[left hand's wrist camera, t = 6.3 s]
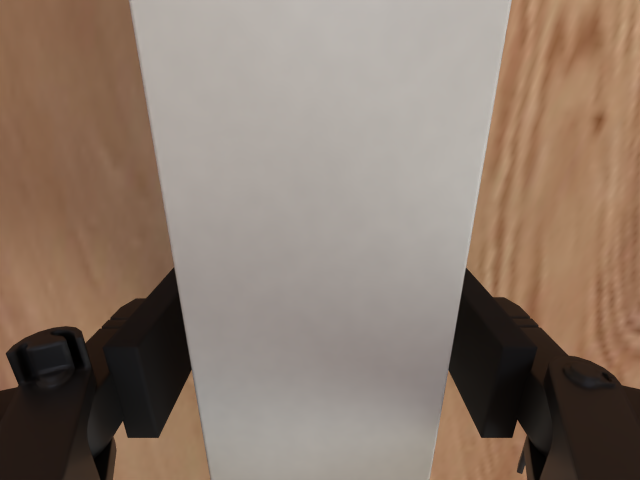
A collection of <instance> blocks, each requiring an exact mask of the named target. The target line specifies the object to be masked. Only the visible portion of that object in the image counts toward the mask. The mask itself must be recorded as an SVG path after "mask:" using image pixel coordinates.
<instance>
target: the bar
mask: <svg viewBox="0 0 640 480" xmlns="http://www.w3.org/2000/svg"><path fill="white" fill-rule="evenodd" d="M129 4H130V10H131V16H132V22H133V27H134V33H135V39H136V45H137V51H138V57H139V63H140V68H141V74H142V80H143V86H144V92H145V98H146V104H147V110H148V115H149V121H150V127H151V133H152V139H153V145H154V151H155V156H156V162H157V168H158V174H159V180H160V186H161V192H162V197H163V203H164V209H165V215H166V221H167V227H168V233H169V238H170V244H171V250H172V256H173V262H174V268H175V274H176V280H177V285H178V291H179V297H180V303H181V309H182V315H183V321H184V326H185V332H186V338H187V344H188V350H189V356H190V362H191V367H192V373H193V379H194V385H195V391H196V397H197V403H198V408H199V414H200V420H201V426H202V432H203V438H204V444H205V449H206V455H207V461H208V467H209V473H210V479H211V480H430V474H431V468H432V462H433V456H434V450H435V445H436V439H437V433H438V427H439V421H440V415H441V410H442V404H443V398H444V392H445V386H446V380H447V374H448V369H449V363H450V357H451V351H452V345H453V339H454V334H455V328H456V322H457V316H458V310H459V304H460V299H461V293H462V287H463V281H464V275H465V269H466V263H467V258H468V252H469V246H470V240H471V234H472V228H473V223H474V217H475V211H476V205H477V199H478V193H479V187H480V182H481V176H482V170H483V164H484V158H485V152H486V147H487V141H488V135H489V129H490V123H491V117H492V112H493V106H494V100H495V94H496V88H497V82H498V76H499V71H500V65H501V59H502V53H503V47H504V41H505V36H506V30H507V24H508V18H509V12H510V6H511V0H129Z"/></svg>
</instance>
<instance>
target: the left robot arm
mask: <svg viewBox="0 0 640 480" xmlns="http://www.w3.org/2000/svg"><path fill="white" fill-rule="evenodd" d="M6 355H7V358H8V360H9V363H10V365H11V367H12V370H13V372H14V375H15V377H16V380H17V382H18V384H19V386H18V387H16V388H12V389H7V390H2V391H0V480H113V474H114V466H115V458H116V444H115V440H114V437H113V436H114V434H115V433H116V431H117V429H118V428H119V426H120V425H121V423H122V421H123V423H124V426H125V430H126V433H127V437H128V438H159V436H160V434H161V432H162V430H163V427H164V425H165V423H166V421H167V419H168V417H169V415H170V413H171V411H172V409H173V407H174V405H175V403H176V401H177V399H178V397H179V394H180V392H181V390H182V388H183V386H184V384H185V382H186V380H187V378H188V376H189V374H190V372H191V370H192V367H191V362H190V356H189V350H188V344H187V338H186V332H185V326H184V321H183V315H182V309H181V303H180V297H179V291H178V285H177V280H176V274H175V268H173V269H172V270H171V271H170V273H169V274H168V275H167V276H166V277H165V278H164V279H163V280H162V281H161V283H160V284H159V285H158V286H157V287H156V288H155V289H154V290H153V291H152V293H151V294H150V295H149V296H148V297H147V298H146V299H134V300H133V301H131V302H129V303H128V304H126V305H124V306H122V307H121V308H120V309H119V310H118V311H117V312H116V313H115V314H114V315H113V316H112V317H111V319H110V320H108V321H107V322H106V323H105V324H104V325H103V326H102V329H99V330H98V331H97V332H96V333H95V334H94V335H93V336H92V337H91V338H90V339H89V340H88V341H87V342H86V343H85V341H84V338H83V334H82V331H80V330H79V329H77V328H76V327H68V326H65V327H56V328H51V329H47V330H44V331H40V332H37V333H35V334H33V335H31V336H28V337H26V338H24V339H23V340H21V341H20V342H18V343H16V344H15V345H13V346H12V347H11V349H10V350H9V351H8V352H7V353H6ZM448 370H449V372H450V374H451V376H452V378H453V380H454V382H455V384H456V386H457V388H458V390H459V392H460V395H461V397H462V399H463V401H464V403H465V405H466V407H467V409H468V411H469V413H470V415H471V417H472V419H473V421H474V423H475V425H476V427H477V430H478V432H479V434H480V436H481V438H512V437H513V433H514V430H515V426H516V422H517V420H518V421H519V423H520V424H521V426H522V428H523V429H524V431H525V432H526V434H527V437H526V440H525V443H524V447H523V450H522V453H521V456H520V460H519V463H518V468H517V472H518V473H521V474H522V473H523V469H524V466H525V465H526V473H527V480H640V389H636V388H631V387H627V386H622V385H621V384H620V382H619V381H618V380H617V378H616V377H615V376H614V375H613V374H611V373H610V372H609V371H607V370H606V369H605V368H603V367H601V366H599V365H597V364H595V363H593V362H591V361H588V360H585V359H582V358H579V357H575V356H568V355H567V354H566V353H565V352H564V351H563V350H562V349H561V348H560V347H559V346H558V345H557V344H556V343H555V342H554V341H553V340H552V339H551V338H550V337H549V336H548V335H547V334H546V333H545V331H544V330H543V329H542V328H539V327H538V324H537V323H536V322H535V321H534V320H533V319H530V316H529V315H528V314H527V313H526V312H525V311H524V310H523V309H522V308H521V307H520V306H518V305H516V304H515V303H513V302H511V301H510V300H508V299H506V298H504V297H492V296H491V295H490V294H489V293H488V291H487V290H486V289H485V288H484V287H483V286H482V285H481V284H480V283H479V281H478V280H477V279H476V278H475V277H474V276H473V275H472V274H471V273H470V271H469V270H468V269H467V268H466V269H465V275H464V281H463V287H462V293H461V299H460V304H459V310H458V316H457V322H456V328H455V334H454V339H453V345H452V351H451V357H450V363H449V369H448Z"/></svg>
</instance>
